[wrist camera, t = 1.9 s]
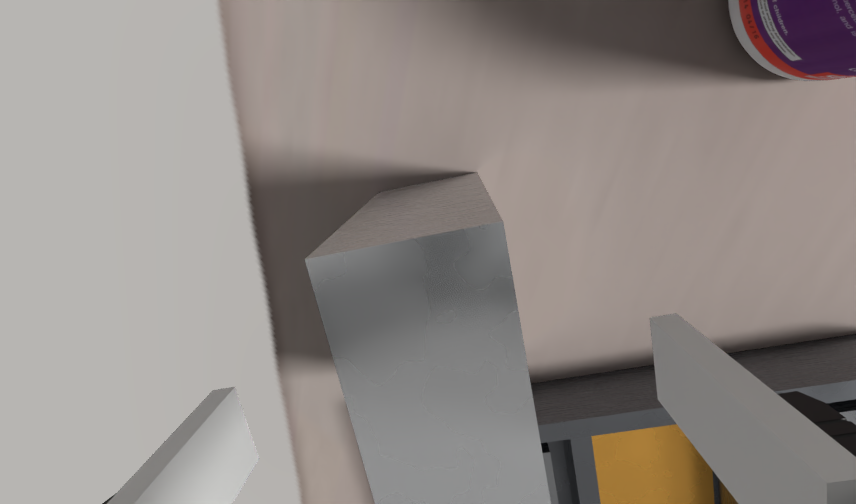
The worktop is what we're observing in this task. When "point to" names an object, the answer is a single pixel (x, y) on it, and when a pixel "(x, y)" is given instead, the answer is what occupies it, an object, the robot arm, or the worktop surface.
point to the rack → (664, 426)
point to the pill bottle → (798, 36)
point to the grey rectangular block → (431, 347)
